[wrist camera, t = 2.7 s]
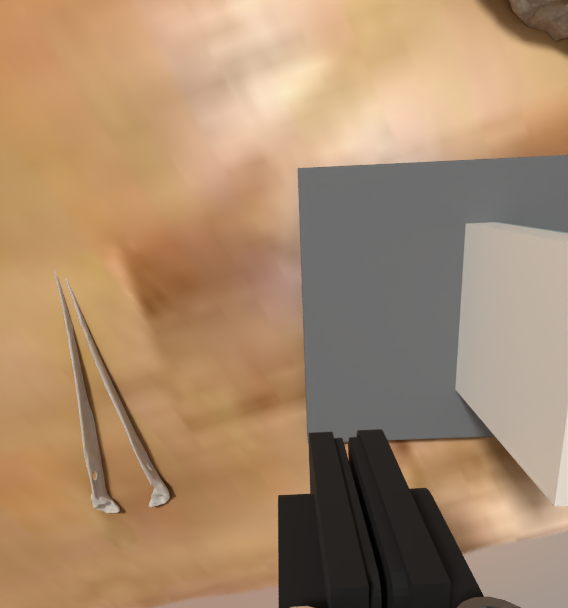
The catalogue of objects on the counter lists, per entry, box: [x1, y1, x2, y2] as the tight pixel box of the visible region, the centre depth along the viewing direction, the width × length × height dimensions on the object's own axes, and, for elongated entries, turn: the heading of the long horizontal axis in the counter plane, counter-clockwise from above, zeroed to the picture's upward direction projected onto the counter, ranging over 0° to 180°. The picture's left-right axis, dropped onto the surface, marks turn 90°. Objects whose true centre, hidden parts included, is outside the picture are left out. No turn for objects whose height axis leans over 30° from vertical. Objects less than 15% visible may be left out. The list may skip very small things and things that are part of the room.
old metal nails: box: [54, 270, 170, 513], centre depth 24 cm, size 17×5×2 cm, turn 11°
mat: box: [298, 155, 568, 443], centre depth 23 cm, size 22×15×1 cm
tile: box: [455, 222, 568, 506], centre depth 18 cm, size 2×9×9 cm, turn 3°
